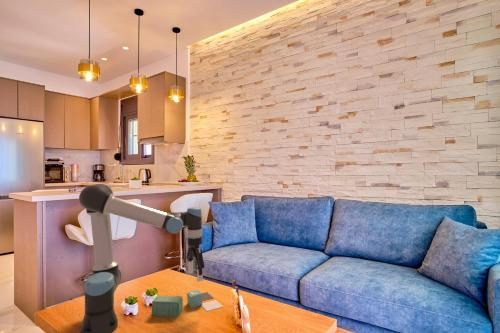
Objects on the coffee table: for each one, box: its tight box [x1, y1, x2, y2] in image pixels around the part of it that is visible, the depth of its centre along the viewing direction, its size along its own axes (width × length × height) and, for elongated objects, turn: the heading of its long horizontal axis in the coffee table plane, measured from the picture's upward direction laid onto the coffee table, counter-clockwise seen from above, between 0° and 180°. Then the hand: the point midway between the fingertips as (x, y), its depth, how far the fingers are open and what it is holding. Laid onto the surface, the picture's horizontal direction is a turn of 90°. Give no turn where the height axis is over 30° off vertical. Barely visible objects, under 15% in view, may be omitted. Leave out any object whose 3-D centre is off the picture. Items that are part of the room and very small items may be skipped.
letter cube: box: [186, 288, 203, 309], centre depth 154 cm, size 6×6×6 cm
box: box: [151, 295, 184, 318], centre depth 146 cm, size 7×14×8 cm, turn 87°
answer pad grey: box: [200, 299, 224, 312], centre depth 153 cm, size 9×9×1 cm
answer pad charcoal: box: [201, 291, 214, 302], centre depth 163 cm, size 9×9×1 cm
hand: (195, 276), depth 155 cm, fingers open, 13 cm apart
